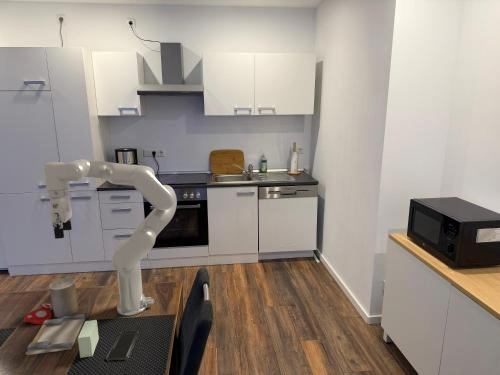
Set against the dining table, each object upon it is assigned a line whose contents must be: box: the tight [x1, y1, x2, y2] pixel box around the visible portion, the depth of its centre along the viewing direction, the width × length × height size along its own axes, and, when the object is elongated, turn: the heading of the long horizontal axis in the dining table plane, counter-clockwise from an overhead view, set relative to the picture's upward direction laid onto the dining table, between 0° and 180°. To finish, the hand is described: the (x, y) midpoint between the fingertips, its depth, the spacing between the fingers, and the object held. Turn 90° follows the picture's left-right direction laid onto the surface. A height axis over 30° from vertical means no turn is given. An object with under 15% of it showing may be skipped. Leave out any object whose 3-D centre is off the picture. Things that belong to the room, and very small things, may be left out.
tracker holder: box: [23, 303, 53, 325], centre depth 143 cm, size 12×4×10 cm
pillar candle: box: [48, 277, 80, 319], centre depth 145 cm, size 10×10×15 cm
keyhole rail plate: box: [25, 313, 86, 356], centre depth 131 cm, size 15×19×2 cm
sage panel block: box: [77, 319, 100, 359], centre depth 123 cm, size 4×10×8 cm, turn 12°
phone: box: [105, 331, 140, 362], centre depth 124 cm, size 8×1×15 cm
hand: (63, 234), depth 137 cm, fingers open, 9 cm apart
